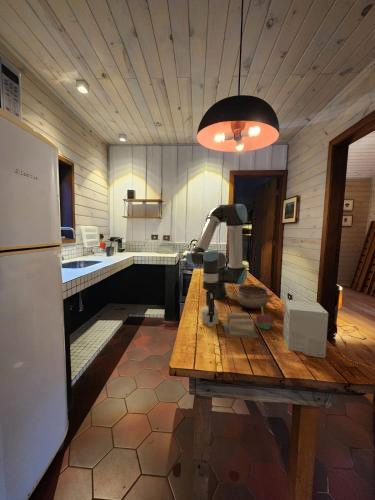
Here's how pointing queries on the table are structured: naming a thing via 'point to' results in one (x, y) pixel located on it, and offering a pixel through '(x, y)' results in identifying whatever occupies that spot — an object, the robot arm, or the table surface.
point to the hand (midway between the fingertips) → (209, 322)
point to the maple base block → (240, 324)
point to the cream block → (205, 317)
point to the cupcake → (264, 320)
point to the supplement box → (305, 327)
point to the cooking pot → (252, 296)
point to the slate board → (237, 335)
